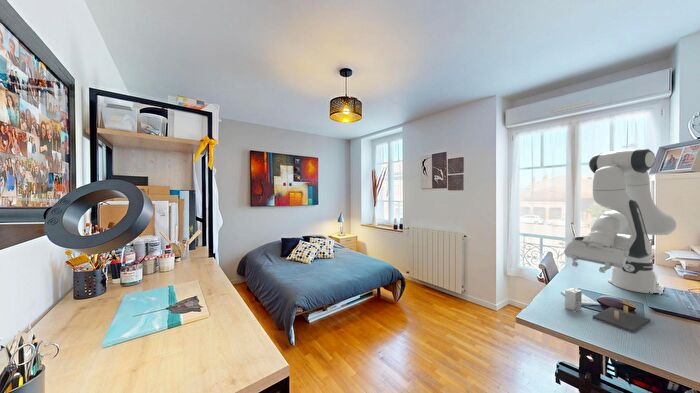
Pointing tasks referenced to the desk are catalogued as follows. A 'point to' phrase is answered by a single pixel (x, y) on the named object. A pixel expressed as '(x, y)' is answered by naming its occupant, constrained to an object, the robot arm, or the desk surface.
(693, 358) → the desk surface
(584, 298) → the external hard drive
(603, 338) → the desk surface
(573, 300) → the clear tall piece
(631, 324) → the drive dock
